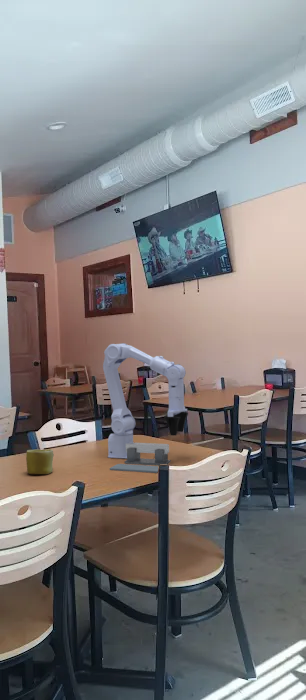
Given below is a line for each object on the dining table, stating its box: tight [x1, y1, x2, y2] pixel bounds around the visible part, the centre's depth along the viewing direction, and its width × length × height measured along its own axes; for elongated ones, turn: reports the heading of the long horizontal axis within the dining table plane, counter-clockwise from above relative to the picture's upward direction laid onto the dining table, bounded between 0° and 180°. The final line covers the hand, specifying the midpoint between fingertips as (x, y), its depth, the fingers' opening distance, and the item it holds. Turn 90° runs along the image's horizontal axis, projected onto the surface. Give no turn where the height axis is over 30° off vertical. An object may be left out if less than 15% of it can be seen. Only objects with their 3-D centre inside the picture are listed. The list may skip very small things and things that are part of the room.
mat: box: [109, 463, 159, 474], centre depth 201 cm, size 18×7×1 cm, turn 69°
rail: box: [126, 441, 170, 454], centre depth 210 cm, size 16×3×3 cm, turn 69°
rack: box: [124, 448, 172, 466], centre depth 210 cm, size 16×6×6 cm, turn 68°
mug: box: [25, 448, 55, 475], centre depth 201 cm, size 12×10×10 cm
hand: (176, 433), depth 213 cm, fingers open, 7 cm apart
